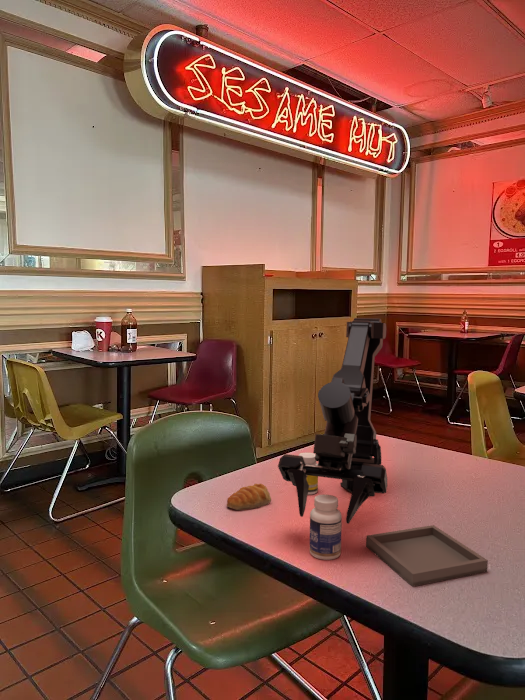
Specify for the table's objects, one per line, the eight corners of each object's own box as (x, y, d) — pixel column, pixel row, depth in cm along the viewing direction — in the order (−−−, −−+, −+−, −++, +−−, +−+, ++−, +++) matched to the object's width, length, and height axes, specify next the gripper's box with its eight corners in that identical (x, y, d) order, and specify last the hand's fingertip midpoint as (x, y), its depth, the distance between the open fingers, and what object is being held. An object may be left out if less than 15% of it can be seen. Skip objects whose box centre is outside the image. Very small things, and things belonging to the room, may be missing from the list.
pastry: (239, 515, 110) (239, 497, 110) (219, 506, 115) (219, 488, 115) (273, 504, 116) (274, 486, 116) (253, 495, 121) (253, 478, 121)
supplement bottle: (319, 489, 125) (320, 453, 124) (315, 496, 120) (315, 459, 119) (299, 486, 126) (300, 450, 125) (293, 493, 122) (294, 456, 121)
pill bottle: (306, 546, 96) (307, 493, 95) (336, 545, 97) (338, 492, 96) (312, 561, 91) (313, 504, 90) (344, 560, 92) (345, 504, 90)
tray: (433, 535, 101) (433, 525, 101) (487, 572, 88) (487, 560, 88) (366, 546, 97) (366, 535, 96) (412, 586, 83) (413, 574, 83)
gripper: (281, 410, 98) (260, 490, 89) (387, 419, 92) (376, 506, 83) (293, 442, 107) (275, 518, 97) (391, 452, 100) (381, 535, 91)
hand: (323, 519), depth 92 cm, fingers open, 8 cm apart
